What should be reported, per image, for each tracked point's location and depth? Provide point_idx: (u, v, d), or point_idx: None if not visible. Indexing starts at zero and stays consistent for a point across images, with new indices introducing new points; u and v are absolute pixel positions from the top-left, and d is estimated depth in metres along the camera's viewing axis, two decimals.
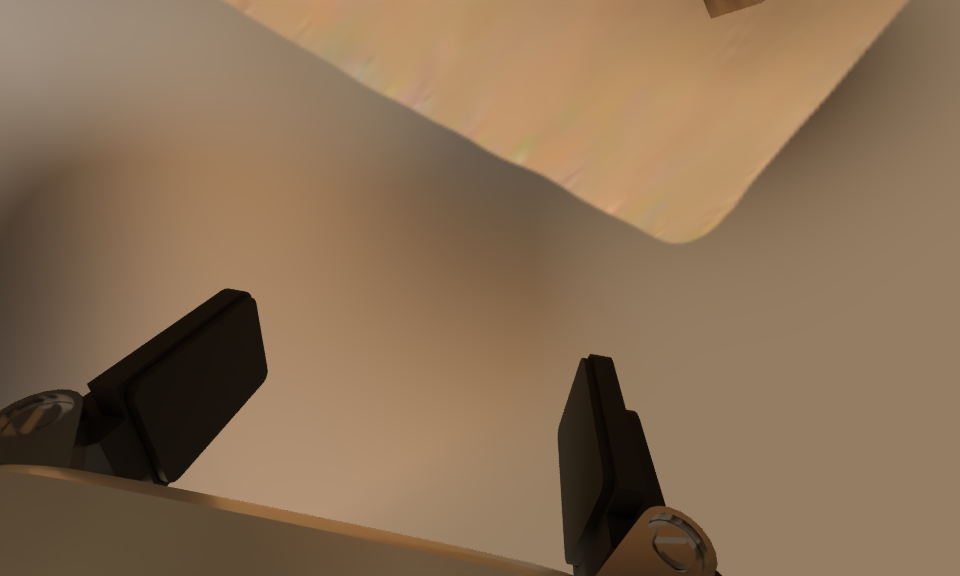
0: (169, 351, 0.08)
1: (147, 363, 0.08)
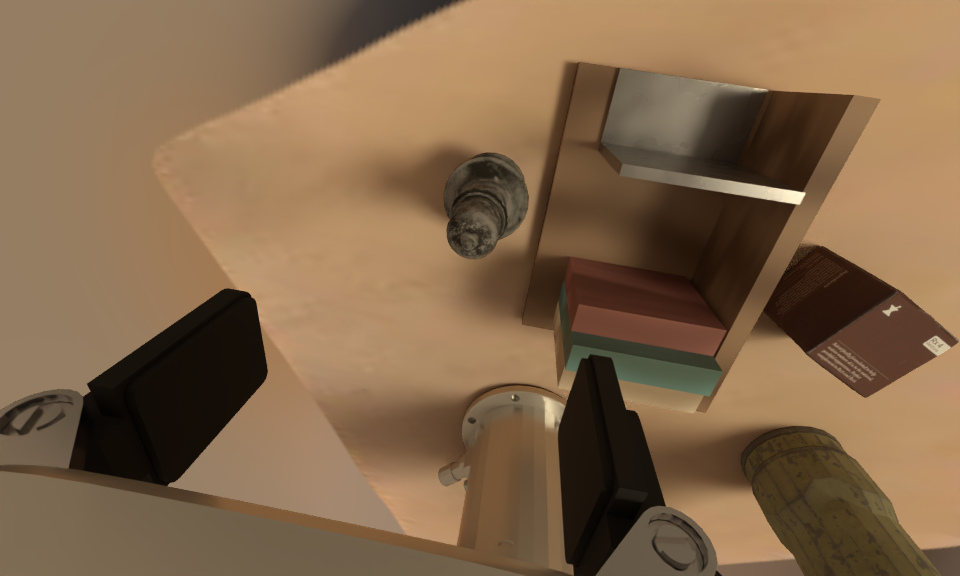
0: (169, 351, 0.08)
1: (146, 363, 0.08)
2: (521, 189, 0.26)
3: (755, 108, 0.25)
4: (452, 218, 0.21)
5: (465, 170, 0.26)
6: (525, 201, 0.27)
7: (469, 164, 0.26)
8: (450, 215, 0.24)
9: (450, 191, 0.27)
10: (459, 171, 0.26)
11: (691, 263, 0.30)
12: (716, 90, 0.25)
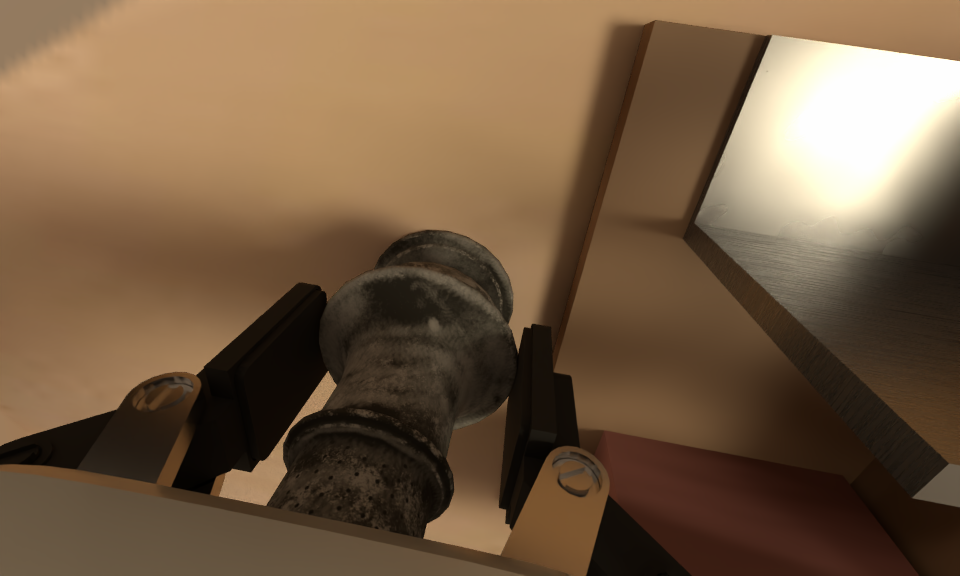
0: (265, 339, 0.09)
1: (250, 349, 0.09)
2: (499, 341, 0.11)
3: None
4: None
5: (359, 297, 0.11)
6: (509, 365, 0.11)
7: (368, 283, 0.10)
8: (286, 464, 0.08)
9: (330, 338, 0.11)
10: (345, 298, 0.11)
11: (860, 456, 0.14)
12: None
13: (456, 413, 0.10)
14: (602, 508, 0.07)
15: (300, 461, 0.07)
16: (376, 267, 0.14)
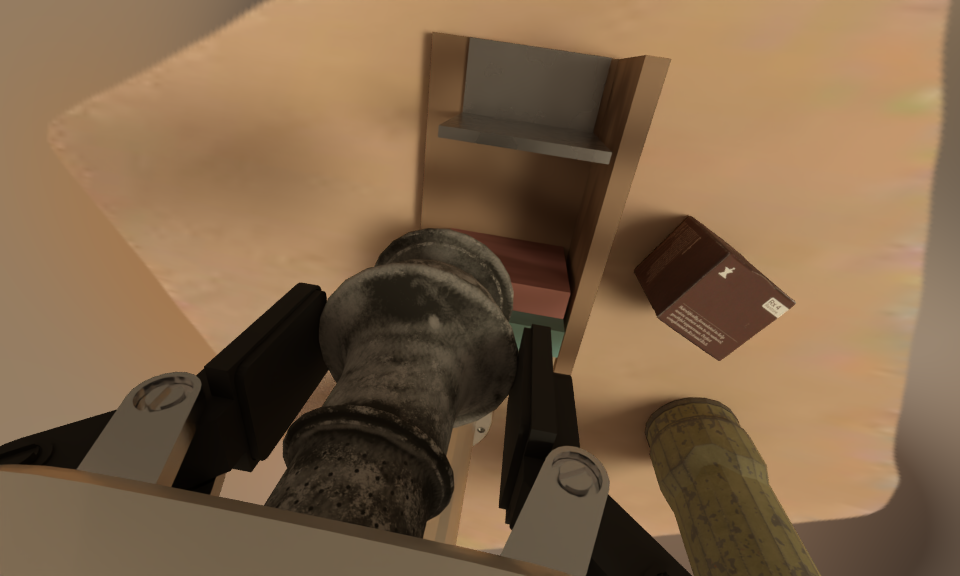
0: (265, 339, 0.09)
1: (250, 349, 0.09)
2: (500, 339, 0.11)
3: (603, 77, 0.25)
4: None
5: (359, 294, 0.10)
6: (510, 364, 0.11)
7: (368, 280, 0.10)
8: (286, 461, 0.08)
9: (330, 336, 0.11)
10: (345, 295, 0.11)
11: (566, 233, 0.31)
12: (563, 58, 0.25)
13: (456, 411, 0.10)
14: (602, 508, 0.07)
15: (300, 458, 0.07)
16: (376, 265, 0.14)
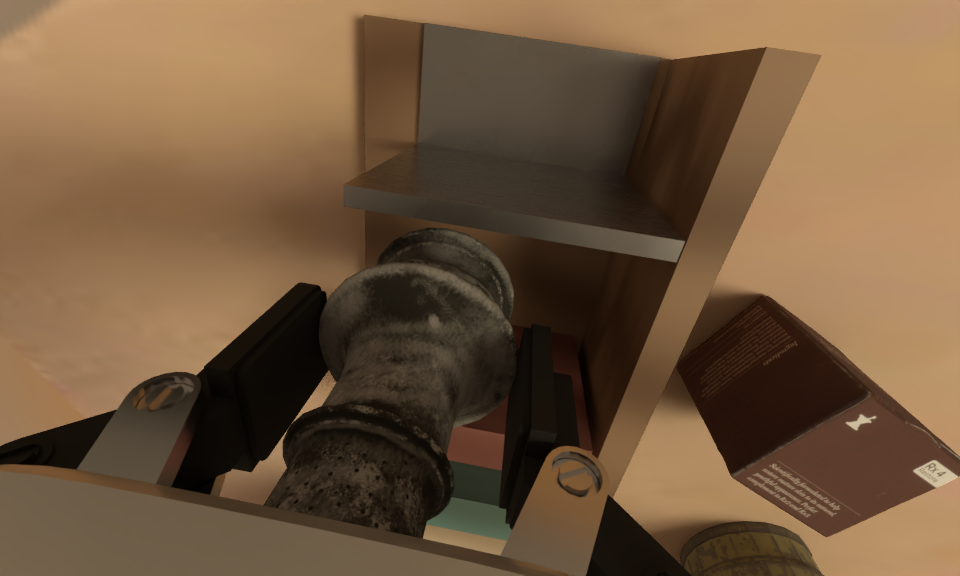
0: (265, 338, 0.09)
1: (250, 349, 0.09)
2: (500, 338, 0.11)
3: (644, 89, 0.15)
4: None
5: (359, 294, 0.10)
6: (510, 363, 0.11)
7: (368, 280, 0.10)
8: (286, 461, 0.08)
9: (330, 335, 0.11)
10: (345, 295, 0.11)
11: (580, 318, 0.21)
12: (579, 58, 0.15)
13: (456, 410, 0.10)
14: (602, 508, 0.07)
15: (300, 457, 0.07)
16: (376, 265, 0.14)
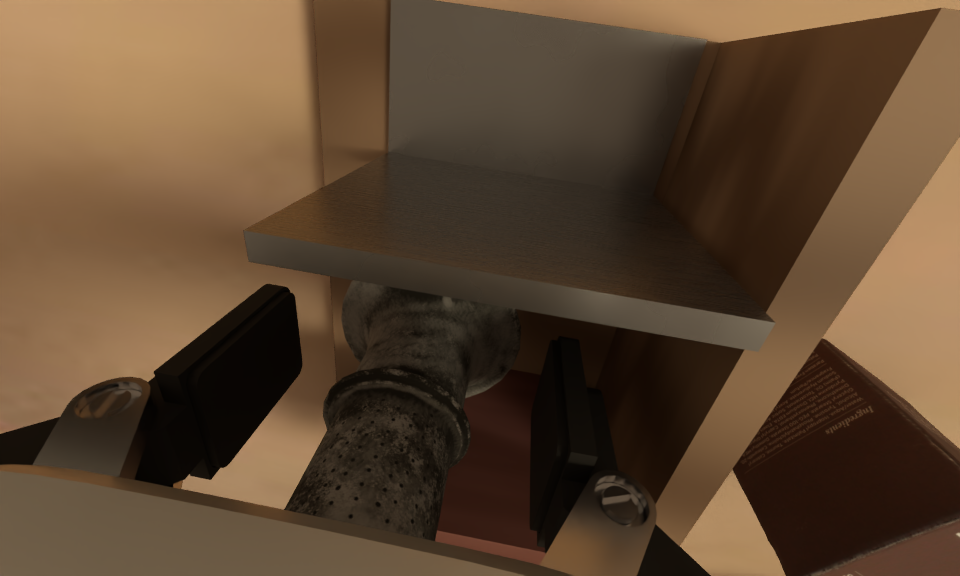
0: (223, 342, 0.09)
1: (205, 353, 0.08)
2: (505, 316, 0.12)
3: (683, 82, 0.12)
4: None
5: None
6: (513, 338, 0.12)
7: None
8: (326, 420, 0.10)
9: (353, 316, 0.13)
10: None
11: (591, 363, 0.17)
12: (597, 41, 0.11)
13: (468, 378, 0.11)
14: (648, 541, 0.07)
15: (343, 412, 0.08)
16: None
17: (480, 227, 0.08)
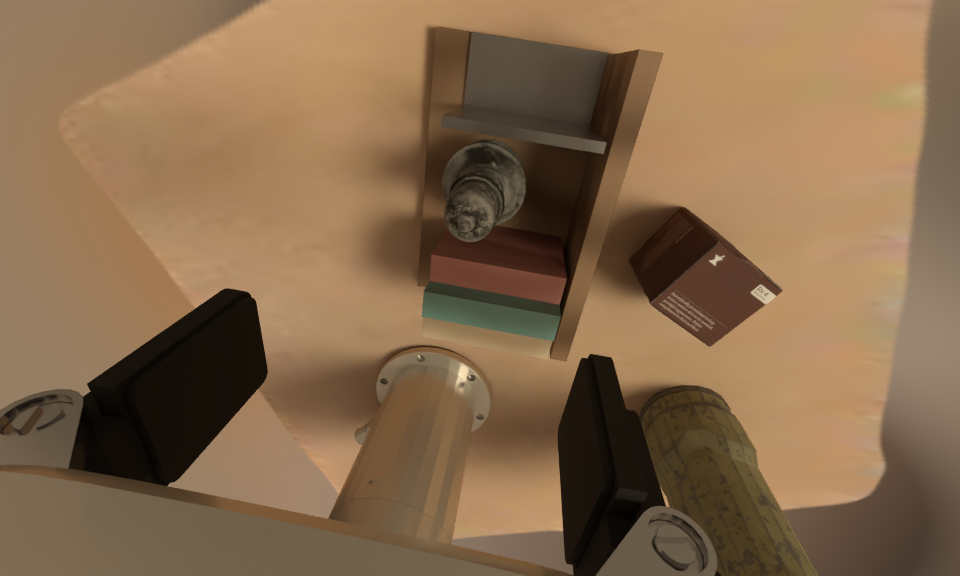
0: (169, 351, 0.08)
1: (146, 363, 0.08)
2: (518, 174, 0.27)
3: (599, 71, 0.26)
4: (449, 201, 0.21)
5: (463, 156, 0.27)
6: (522, 187, 0.27)
7: (467, 150, 0.26)
8: (448, 200, 0.24)
9: (448, 177, 0.27)
10: (457, 157, 0.27)
11: (564, 224, 0.32)
12: (561, 53, 0.26)
13: None
14: None
15: (460, 186, 0.23)
16: None
17: (514, 122, 0.23)
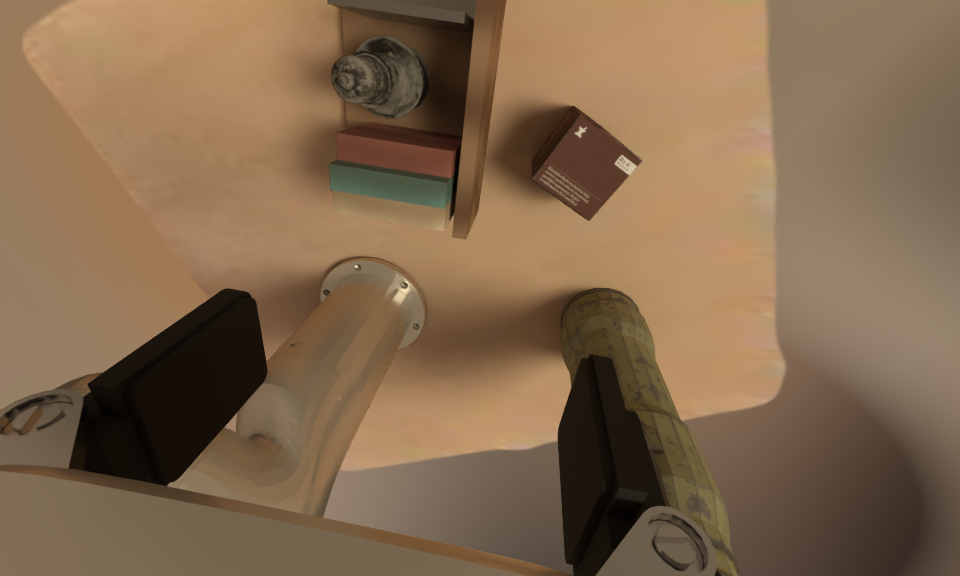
0: (169, 351, 0.08)
1: (146, 364, 0.08)
2: (414, 65, 0.31)
3: None
4: (334, 64, 0.25)
5: (365, 49, 0.30)
6: (419, 77, 0.31)
7: (368, 43, 0.30)
8: None
9: None
10: (360, 50, 0.31)
11: None
12: None
13: (398, 81, 0.30)
14: None
15: None
16: None
17: None
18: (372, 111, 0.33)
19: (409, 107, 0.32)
